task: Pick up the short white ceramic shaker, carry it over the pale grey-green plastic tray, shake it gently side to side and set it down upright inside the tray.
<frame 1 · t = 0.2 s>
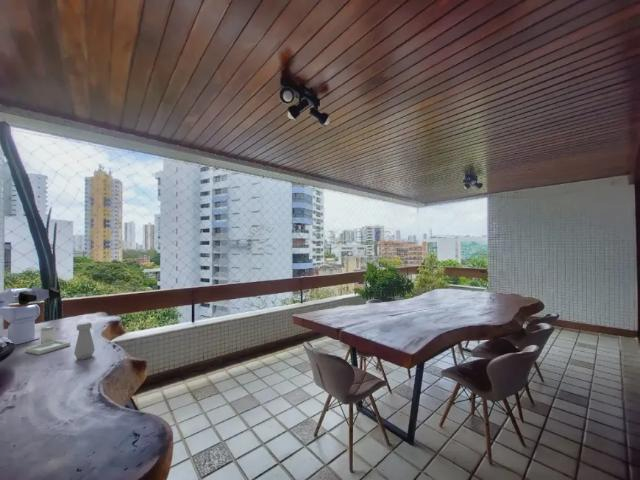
hand: (47, 296, 118), 21 cm above the table, tool horizontal, fingers open, 7 cm apart
tray: (48, 348, 114), on the table
salt shaker: (84, 358, 103), on the table
white shaker: (48, 343, 121), on the table
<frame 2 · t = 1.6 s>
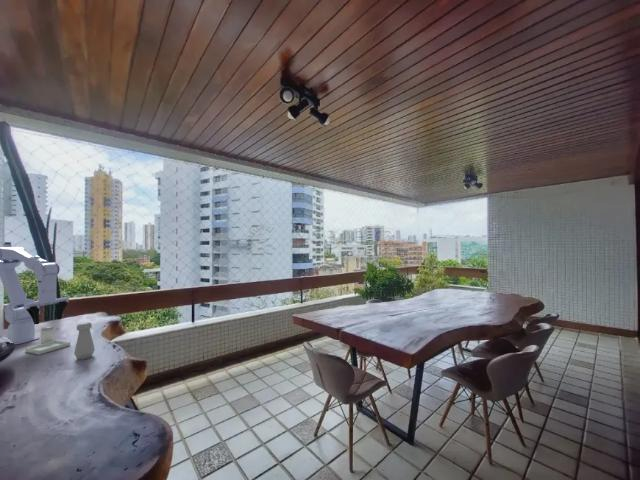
hand: (47, 321, 121), 9 cm above the table, tool pointing down, fingers open, 7 cm apart
nothing on the table moved.
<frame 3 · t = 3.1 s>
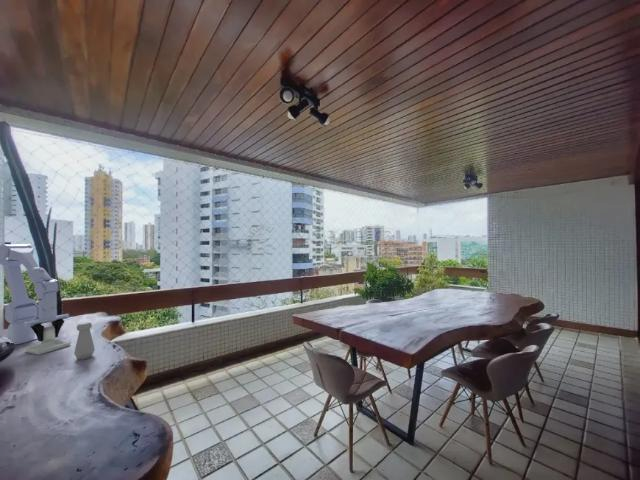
hand: (48, 339, 121), 2 cm above the table, tool pointing down, fingers closed on white shaker, 4 cm apart
white shaker: (48, 343, 121), on the table, touching gripper
everything else where it was.
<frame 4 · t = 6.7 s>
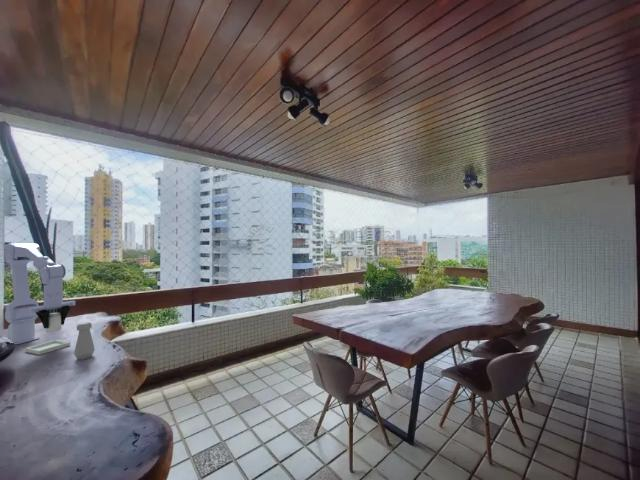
hand: (53, 326, 116), 9 cm above the table, tool pointing down, fingers closed on white shaker, 4 cm apart
white shaker: (54, 330, 116), point 7 cm above the table, touching gripper
everything else where it was.
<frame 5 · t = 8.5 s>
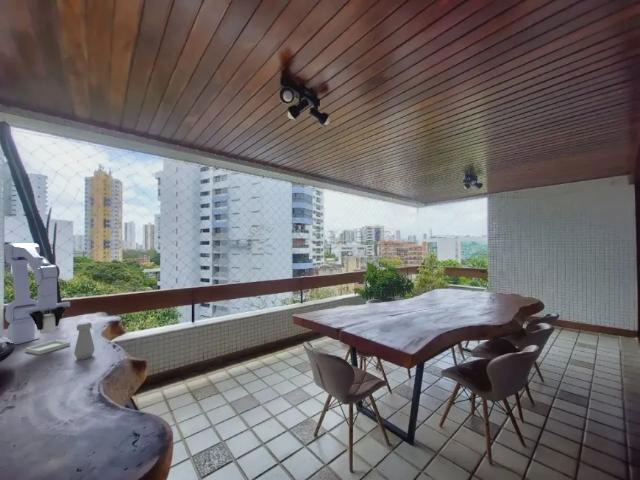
hand: (48, 327, 114), 9 cm above the table, tool pointing down, fingers closed on white shaker, 4 cm apart
white shaker: (48, 331, 114), point 7 cm above the table, touching gripper
everything else where it was.
when the fingers open (3 cm above the table, at t = 10.2 s): white shaker stays where it is, resting on tray.
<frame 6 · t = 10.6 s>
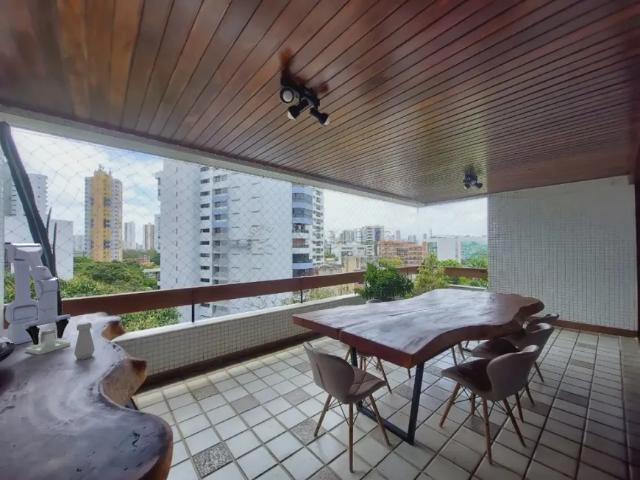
hand: (48, 341, 114), 3 cm above the table, tool pointing down, fingers open, 7 cm apart
white shaker: (48, 347, 114), resting on tray
everything else where it was.
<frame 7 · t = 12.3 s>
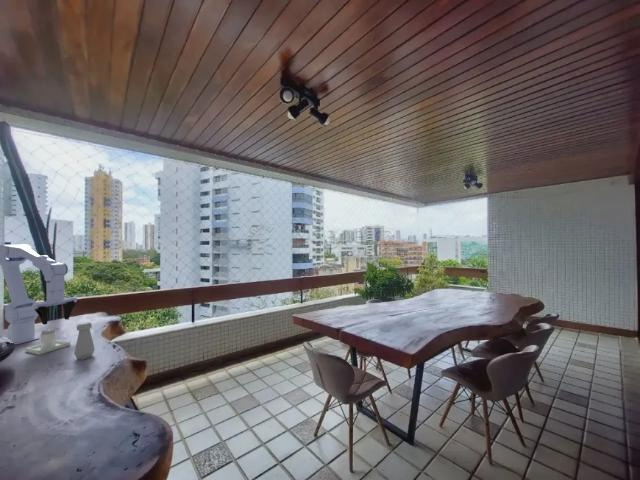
hand: (56, 321, 120), 9 cm above the table, tool pointing down, fingers open, 7 cm apart
nothing on the table moved.
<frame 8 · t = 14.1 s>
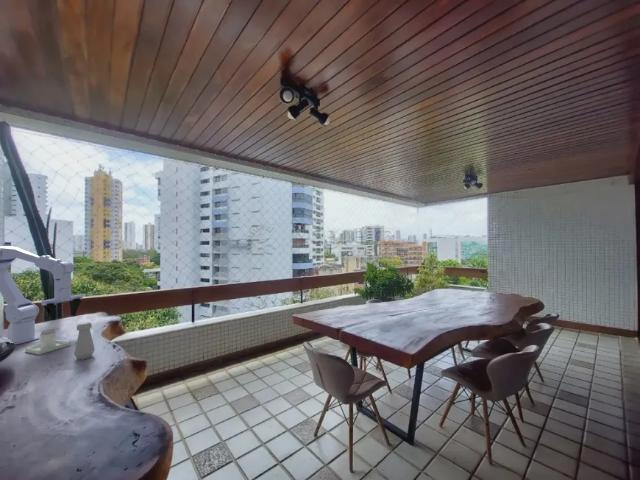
hand: (63, 317, 127), 9 cm above the table, tool pointing down, fingers open, 7 cm apart
nothing on the table moved.
at the end: white shaker 0.0 cm off-centre on the tray, point 0.5 cm above the tray's base; white shaker tilted 1°; the gripper is holding nothing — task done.
